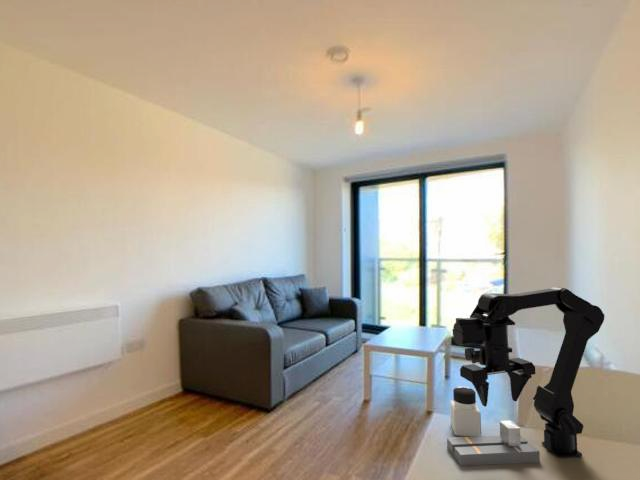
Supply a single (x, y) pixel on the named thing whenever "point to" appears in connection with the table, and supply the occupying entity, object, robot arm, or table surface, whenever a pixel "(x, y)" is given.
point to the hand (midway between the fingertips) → (499, 403)
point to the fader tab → (510, 433)
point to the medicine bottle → (465, 413)
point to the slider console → (490, 451)
